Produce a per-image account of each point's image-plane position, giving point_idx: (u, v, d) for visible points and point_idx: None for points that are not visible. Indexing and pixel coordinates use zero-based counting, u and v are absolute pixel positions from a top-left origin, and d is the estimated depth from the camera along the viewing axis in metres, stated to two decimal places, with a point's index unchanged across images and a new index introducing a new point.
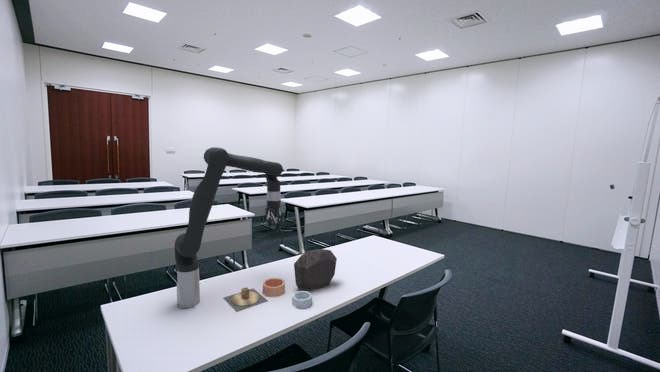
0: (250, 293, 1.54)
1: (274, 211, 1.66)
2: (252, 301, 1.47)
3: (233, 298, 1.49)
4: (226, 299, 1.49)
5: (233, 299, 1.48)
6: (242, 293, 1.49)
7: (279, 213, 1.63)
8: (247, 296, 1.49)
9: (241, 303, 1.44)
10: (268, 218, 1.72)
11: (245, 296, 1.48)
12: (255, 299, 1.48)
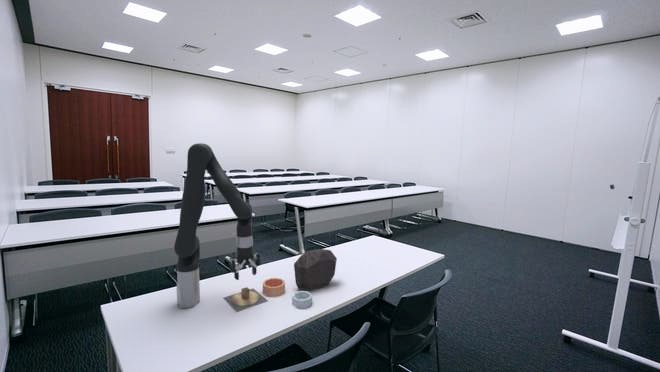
0: (250, 293, 1.54)
1: (251, 256, 1.48)
2: (252, 301, 1.47)
3: (233, 298, 1.49)
4: (226, 299, 1.49)
5: (233, 299, 1.48)
6: (242, 293, 1.49)
7: None
8: (247, 296, 1.49)
9: (241, 303, 1.44)
10: None
11: (245, 296, 1.48)
12: (255, 299, 1.48)
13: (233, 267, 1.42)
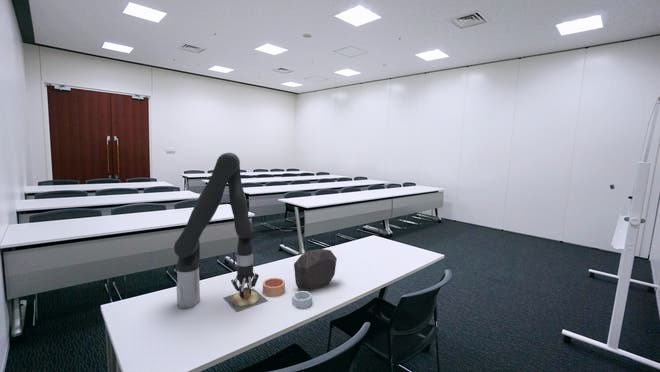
0: None
1: (251, 274, 1.49)
2: (252, 301, 1.46)
3: (233, 298, 1.49)
4: (226, 299, 1.49)
5: (233, 299, 1.48)
6: None
7: None
8: (247, 296, 1.49)
9: (241, 303, 1.44)
10: (243, 288, 1.47)
11: (245, 296, 1.48)
12: (255, 299, 1.48)
13: (236, 287, 1.45)
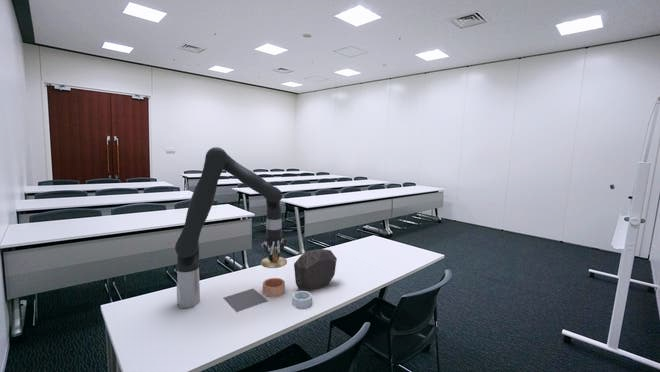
0: None
1: (280, 238, 1.56)
2: (281, 264, 1.53)
3: (262, 261, 1.55)
4: (226, 299, 1.49)
5: (262, 262, 1.54)
6: None
7: None
8: (276, 259, 1.55)
9: (271, 265, 1.51)
10: (272, 251, 1.54)
11: (274, 259, 1.54)
12: (283, 262, 1.55)
13: (266, 250, 1.51)
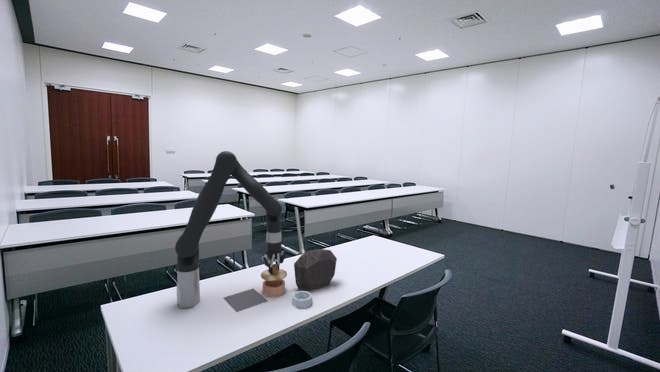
0: None
1: (280, 251, 1.57)
2: (281, 276, 1.54)
3: (262, 274, 1.56)
4: (226, 299, 1.49)
5: (262, 275, 1.55)
6: None
7: None
8: (276, 272, 1.56)
9: (271, 278, 1.52)
10: (272, 264, 1.55)
11: (274, 272, 1.55)
12: (283, 275, 1.56)
13: (266, 262, 1.52)
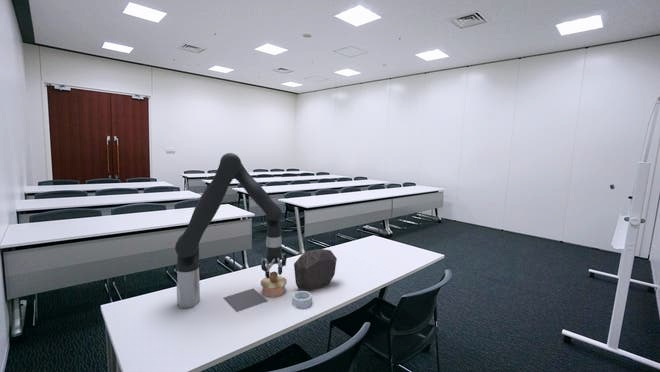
0: (277, 277, 1.62)
1: (279, 255, 1.57)
2: (280, 284, 1.55)
3: (262, 281, 1.57)
4: (226, 299, 1.49)
5: (262, 282, 1.56)
6: (271, 277, 1.57)
7: None
8: (275, 279, 1.57)
9: (270, 286, 1.53)
10: (269, 269, 1.54)
11: (274, 279, 1.56)
12: (283, 282, 1.57)
13: (264, 266, 1.52)
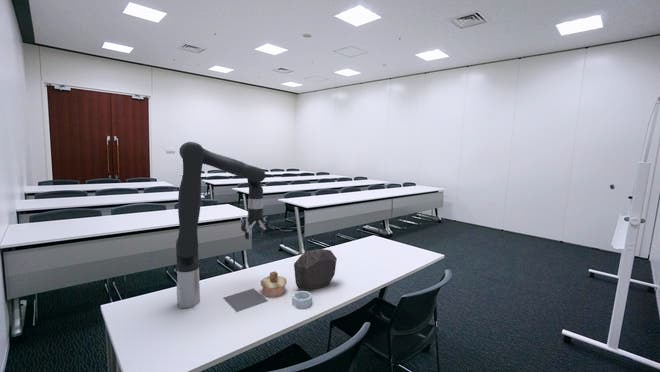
0: (277, 277, 1.62)
1: (261, 218, 1.58)
2: (280, 284, 1.55)
3: (262, 281, 1.57)
4: (226, 299, 1.49)
5: (262, 282, 1.56)
6: (271, 277, 1.57)
7: None
8: (275, 279, 1.57)
9: (270, 286, 1.53)
10: None
11: (274, 279, 1.56)
12: (283, 282, 1.57)
13: (244, 226, 1.53)
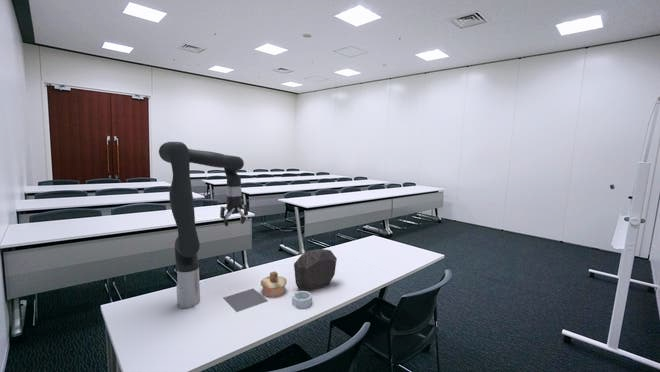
0: (277, 277, 1.62)
1: (240, 206, 1.63)
2: (280, 284, 1.55)
3: (262, 281, 1.57)
4: (226, 299, 1.49)
5: (262, 282, 1.56)
6: (271, 277, 1.57)
7: None
8: (275, 279, 1.57)
9: (270, 286, 1.53)
10: None
11: (274, 279, 1.56)
12: (283, 282, 1.57)
13: (223, 213, 1.58)
